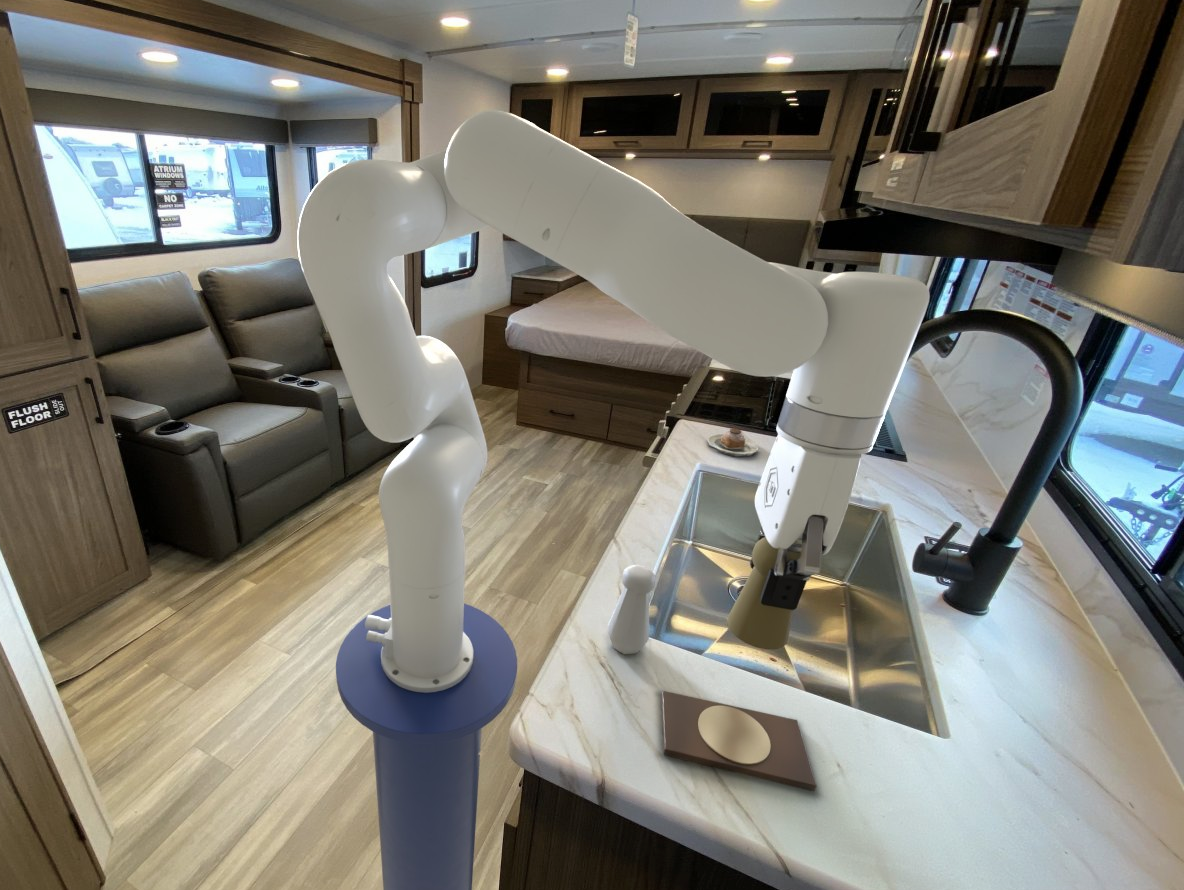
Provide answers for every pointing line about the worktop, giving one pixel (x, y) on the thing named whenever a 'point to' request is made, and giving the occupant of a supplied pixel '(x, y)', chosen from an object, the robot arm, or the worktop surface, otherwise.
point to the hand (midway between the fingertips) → (771, 585)
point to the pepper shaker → (760, 604)
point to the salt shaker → (632, 611)
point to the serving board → (735, 740)
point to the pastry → (733, 443)
